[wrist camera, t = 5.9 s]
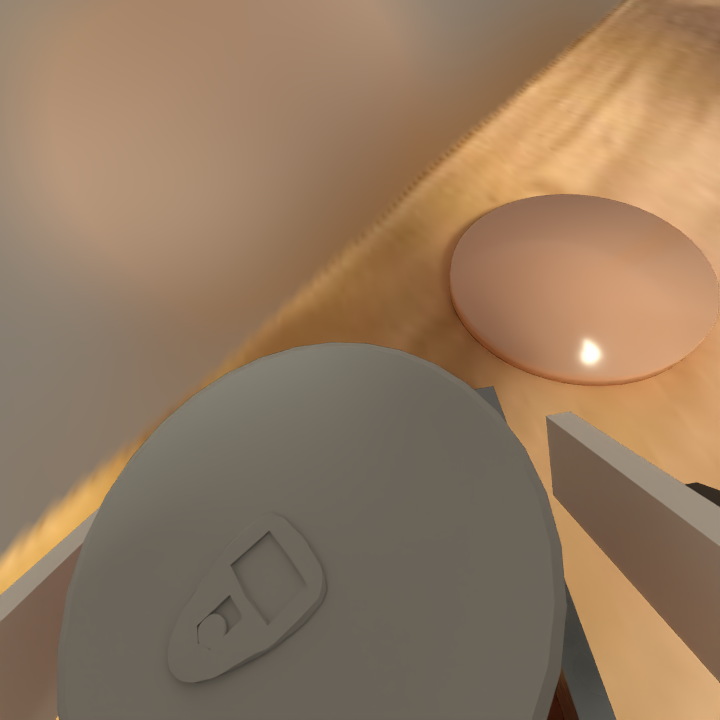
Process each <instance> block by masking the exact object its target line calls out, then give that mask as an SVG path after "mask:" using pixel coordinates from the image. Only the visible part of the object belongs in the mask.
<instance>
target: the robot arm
mask: <svg viewBox="0 0 720 720" xmlns="http://www.w3.org/2000/svg"><path fill="white" fill-rule="evenodd" d="M546 423H547V434H548V444H549V455H550V466H551V476H552V487H553V495H554V496H555V497H556V499H557V500H558V501H559V502H560V503H561V504H562V505H563V506H564V508H565V509H566V510H567V511H568V512H569V513H570V514H571V516H572V517H573V518H574V519H575V520H576V521H577V522H578V523H579V525H580V526H581V527H582V528H583V529H584V530H585V531H586V532H587V534H588V535H589V536H590V537H591V538H592V539H593V540H594V541H595V543H596V544H597V545H598V546H599V547H600V548H601V549H602V550H603V552H604V553H605V554H606V555H607V556H608V557H609V558H610V559H611V561H612V562H613V563H614V564H615V565H616V566H617V567H618V568H619V570H620V571H621V572H622V573H623V574H624V575H625V576H626V578H627V579H628V580H629V581H630V582H631V583H632V584H633V585H634V587H635V588H636V589H637V590H638V591H639V592H640V593H641V594H642V596H643V597H644V598H645V599H646V600H647V601H648V602H649V603H650V605H651V606H652V607H653V608H654V609H655V610H656V611H657V612H658V614H659V615H660V616H661V617H662V618H663V619H664V620H665V621H666V623H667V624H668V625H669V626H670V627H671V628H672V629H673V630H674V632H675V633H676V634H677V635H678V636H679V637H680V638H681V639H682V641H683V642H684V643H685V644H686V645H687V646H688V647H689V649H690V650H691V651H692V652H693V653H694V654H695V655H696V656H697V658H698V659H699V660H700V661H701V662H702V663H703V664H704V665H705V667H706V668H707V669H708V670H709V671H710V672H711V673H712V674H713V676H714V677H715V678H716V679H717V680H718V681H719V682H720V490H717V489H714V488H711V487H708V486H706V485H703V484H700V483H691V484H685V485H684V484H683V483H681V482H680V481H678V480H677V479H675V478H673V477H672V476H670V475H669V474H667V473H666V472H664V471H662V470H661V469H659V468H658V467H656V466H655V465H653V464H652V463H650V462H648V461H647V460H645V459H644V458H642V457H641V456H639V455H637V454H636V453H634V452H633V451H631V450H630V449H628V448H627V447H625V446H623V445H622V444H620V443H619V442H617V441H616V440H614V439H612V438H611V437H609V436H608V435H606V434H605V433H603V432H602V431H600V430H598V429H597V428H595V427H594V426H592V425H591V424H589V423H587V422H586V421H584V420H583V419H581V418H580V417H578V416H577V415H575V414H573V413H572V412H566V413H560V414H555V415H549V416H546ZM100 507H101V506H100ZM100 507H99V508H98V509H97V510H96V511H95V512H94V513H93V514H91V515H90V516H89V517H88V518H87V519H86V520H85V521H84V522H82V523H81V524H80V525H79V526H78V527H77V528H76V529H75V530H73V531H72V532H71V533H70V534H69V535H68V536H67V537H66V538H64V539H63V540H62V541H61V542H60V543H59V544H58V545H57V546H55V547H54V548H53V549H52V550H51V551H50V552H49V553H48V554H46V555H45V556H44V557H43V558H42V559H41V560H40V561H39V562H37V563H36V564H35V565H34V566H33V567H32V568H31V569H29V570H28V571H27V572H26V573H25V574H24V575H23V576H22V577H20V578H19V579H18V580H17V581H16V582H15V583H14V584H13V585H11V586H10V587H9V588H8V589H7V590H6V591H5V592H4V593H2V594H1V595H0V720H55V719H56V718H57V716H58V710H57V649H58V643H59V637H60V631H61V625H62V619H63V613H64V607H65V601H66V595H67V591H68V588H69V584H70V581H71V578H72V575H73V572H74V569H75V566H76V563H77V560H78V557H79V554H80V551H81V548H82V545H83V541H84V539H85V537H86V535H87V533H88V531H89V529H90V527H91V525H92V523H93V521H94V519H95V517H96V515H97V513H98V511H99V509H100Z"/></svg>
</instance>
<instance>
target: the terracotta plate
mask: <svg viewBox="0 0 720 720" xmlns="http://www.w3.org/2000/svg"><path fill="white" fill-rule="evenodd" d="M450 293H451V298H452V302H453V305H454V308H455V310H456V313H457V315H458V316H459V318H460V320H461V322H462V323H463V325H464V326H465V327H466V329H467V330H468V331H469V332H470V334H471V335H472V336H473V337H474V338H475V339H476V340H477V341H478V342H479V343H480V344H481V345H482V346H484V347H485V348H486V349H487V350H489V351H490V352H491V353H493V354H494V355H495V356H497V357H499V358H500V359H502V360H504V361H505V362H507V363H509V364H510V365H512V366H515V367H517V368H519V369H521V370H523V371H525V372H528V373H531V374H534V375H536V376H539V377H542V378H545V379H550V380H554V381H558V382H562V383H569V384H576V385H587V386H608V385H621V384H626V383H631V382H636V381H641V380H644V379H647V378H650V377H653V376H656V375H658V374H660V373H662V372H664V371H666V370H668V369H670V368H672V367H673V366H675V365H676V364H677V363H679V362H680V361H682V360H683V359H684V358H685V357H686V356H687V355H688V354H690V353H691V352H692V351H693V350H694V349H695V348H696V347H697V346H698V345H699V344H700V343H701V342H702V341H703V340H704V339H705V338H706V337H707V335H708V334H709V332H710V330H711V329H712V327H713V326H714V324H715V321H716V318H717V315H718V313H719V306H720V291H719V285H718V281H717V278H716V275H715V272H714V270H713V268H712V266H711V264H710V263H709V261H708V260H707V258H706V257H705V255H704V254H703V253H702V251H701V250H700V249H699V248H698V247H697V246H696V245H695V244H694V243H693V241H692V240H691V239H689V238H688V237H687V236H686V235H685V234H683V233H682V232H681V231H680V230H678V229H677V228H675V227H674V226H672V225H671V224H669V223H668V222H666V221H665V220H663V219H661V218H659V217H657V216H655V215H654V214H651V213H649V212H647V211H644V210H642V209H640V208H637V207H634V206H631V205H629V204H626V203H622V202H618V201H615V200H611V199H606V198H600V197H595V196H586V195H573V194H557V195H544V196H536V197H531V198H526V199H521V200H518V201H515V202H511V203H508V204H506V205H503V206H501V207H499V208H496V209H494V210H493V211H491V212H489V213H487V214H485V215H484V216H483V217H481V218H480V219H478V220H477V221H476V222H475V223H474V224H473V225H471V226H470V227H469V228H468V229H467V231H466V232H465V233H464V234H463V236H462V237H461V238H460V240H459V242H458V244H457V246H456V248H455V251H454V253H453V256H452V262H451V269H450Z"/></svg>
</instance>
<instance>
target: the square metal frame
mask: <svg viewBox="0 0 720 720" xmlns="http://www.w3.org/2000/svg"><path fill="white" fill-rule="evenodd" d="M475 391H476V392H477V393H478V394H479V395H480V396H481V397H482V398H483V399H484V400H486V401H487V402H488V403H489V404H490V405H491V406H492V407H493V408H494V409H495V410H496V411H497V412H498V413H499V414H500V415H501V417H502V418H503V419H504V421H505V422H506V419H505V416H504V414H503V411H502V408H501V406H500V403H499V400H498V398H497V395H496V392H495V389H494V387H493V386H491V387H486V388H480V389H475ZM506 423H507V422H506ZM564 581H565V579H564ZM565 592H566V603H567V609H566V619H565V630H564V640H563V651H562V661H561V672H560V676H559V679H558V683H557V686H556V690H555V691H556V694H557V697H558V700H559V703H560V707H561V710H562V713H563V716H564V719H565V720H616V717H615V715H614V712H613V709H612V706H611V704H610V701H609V698H608V696H607V693H606V690H605V687H604V685H603V682H602V679H601V677H600V674H599V671H598V669H597V666H596V663H595V660H594V658H593V655H592V652H591V650H590V647H589V644H588V641H587V639H586V636H585V633H584V631H583V628H582V625H581V622H580V620H579V617H578V614H577V612H576V609H575V606H574V603H573V601H572V598H571V595H570V593H569V590H568V587H567V585H566V582H565Z"/></svg>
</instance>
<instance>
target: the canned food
mask: <svg viewBox="0 0 720 720" xmlns="http://www.w3.org/2000/svg"><path fill="white" fill-rule="evenodd" d="M566 609H567V603H566V592H565V581H564V570H563V559H562V547H561V542H560V539H559V535H558V532H557V528H556V524H555V521H554V517H553V514H552V510H551V507H550V503H549V499H548V496H547V492H546V490H545V488H544V486H543V484H542V482H541V480H540V478H539V476H538V474H537V472H536V470H535V468H534V466H533V464H532V462H531V460H530V458H529V455H528V453H527V451H526V449H525V448H524V446H523V445H522V444H521V442H520V441H519V439H518V438H517V437H516V435H515V434H514V433H513V431H512V430H511V429H510V427H509V426H508V425H507V423H506V422H505V421H504V419H503V418H502V417H501V415H500V414H499V413H498V412H497V411H496V410H495V409H494V408H493V407H492V406H491V405H490V404H489V403H488V402H487V401H486V400H484V399H483V398H482V397H481V396H480V395H479V394H478V393H477V392H476V391H475V390H474V389H473V388H471V387H470V386H469V385H468V384H467V383H465V382H464V381H462V380H460V379H459V378H457V377H456V376H454V375H452V374H451V373H449V372H448V371H446V370H444V369H443V368H441V367H440V366H438V365H436V364H435V363H432V362H430V361H427V360H424V359H422V358H419V357H417V356H414V355H412V354H409V353H407V352H404V351H402V350H397V349H392V348H387V347H382V346H377V345H372V344H367V343H337V342H330V343H322V344H315V345H308V346H300V347H294V348H291V349H288V350H284V351H281V352H278V353H274V354H271V355H268V356H264V357H261V358H259V359H257V360H255V361H252V362H250V363H248V364H246V365H244V366H242V367H240V368H237V369H235V370H233V371H231V372H229V373H227V374H225V375H224V376H222V377H221V378H219V379H218V380H216V381H214V382H213V383H211V384H210V385H208V386H207V387H205V388H204V389H202V390H201V391H199V392H198V393H196V394H195V395H193V396H192V397H191V398H190V399H188V400H187V401H186V402H185V403H184V404H183V405H182V406H180V407H179V408H178V409H177V410H176V411H175V412H174V413H172V414H171V415H170V416H169V417H168V418H167V419H165V420H164V421H163V422H162V423H161V424H160V425H159V426H158V428H157V429H156V430H155V431H154V432H153V433H152V434H151V435H150V437H149V438H148V439H147V440H146V441H145V442H144V443H143V445H142V446H141V447H140V448H139V449H138V450H137V451H136V452H135V454H134V455H133V456H132V457H131V459H130V460H129V462H128V463H127V465H126V466H125V468H124V469H123V471H122V472H121V474H120V475H119V477H118V478H117V480H116V481H115V483H114V484H113V486H112V487H111V489H110V490H109V492H108V493H107V495H106V496H105V498H104V500H103V503H102V505H101V507H100V509H99V511H98V513H97V515H96V517H95V519H94V521H93V523H92V525H91V527H90V529H89V531H88V533H87V535H86V537H85V539H84V541H83V545H82V548H81V551H80V554H79V557H78V560H77V563H76V566H75V569H74V572H73V575H72V578H71V581H70V584H69V588H68V591H67V595H66V601H65V607H64V613H63V619H62V625H61V631H60V637H59V643H58V649H57V710H58V716H59V720H547V717H548V714H549V710H550V707H551V703H552V700H553V697H554V693H555V690H556V686H557V683H558V679H559V676H560V672H561V661H562V651H563V640H564V630H565V619H566Z"/></svg>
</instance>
